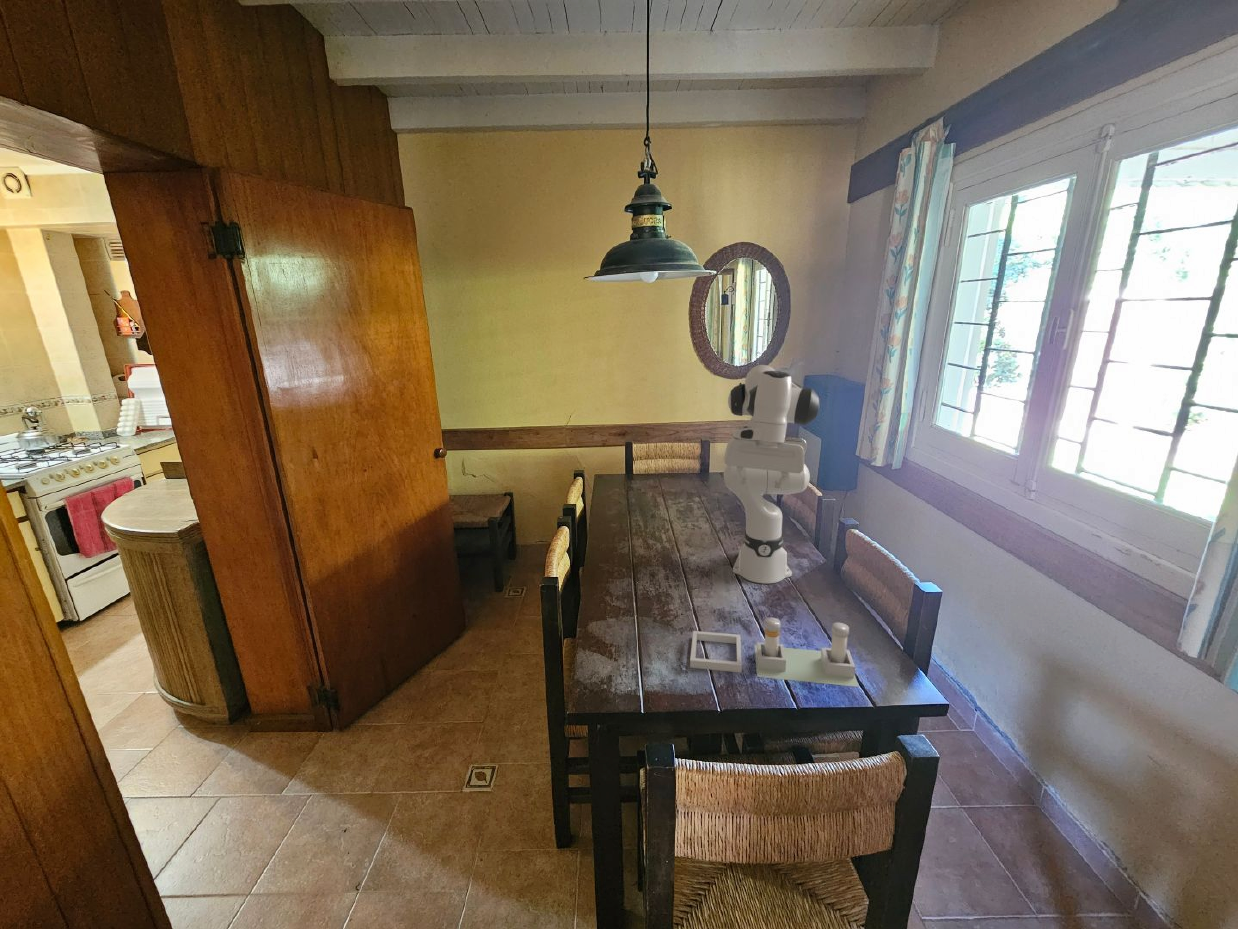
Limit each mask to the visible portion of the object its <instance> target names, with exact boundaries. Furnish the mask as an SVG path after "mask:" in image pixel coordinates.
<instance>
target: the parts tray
mask: <svg viewBox="0 0 1238 929" xmlns="http://www.w3.org/2000/svg"><path fill="white" fill-rule="evenodd" d="M691 639H692V641H691V648H690V657H689V658H690V660H689V668H690V669H691V668H692V669H702V670H709V671H711V670H712V671H722V672H732V673H733V672H734V673H742V671H743V669H742V668H743V665H742V663H743V662H742V661H743V660H742V644H741V643H742V642H741V640H742V639H741V634H735V633H734V634H732V633H722V632H713V631H711V632H710V631H701V630H700V631H698V630H692V638H691ZM698 641H700V642H702V641H703V642H712V643H713V642H714V643H723V644H725V643H726V644H736V645H735V646H736V661H729V660H721V659H720V660H719V659H709V658H699V657H696V654H697V643H698Z"/></svg>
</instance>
